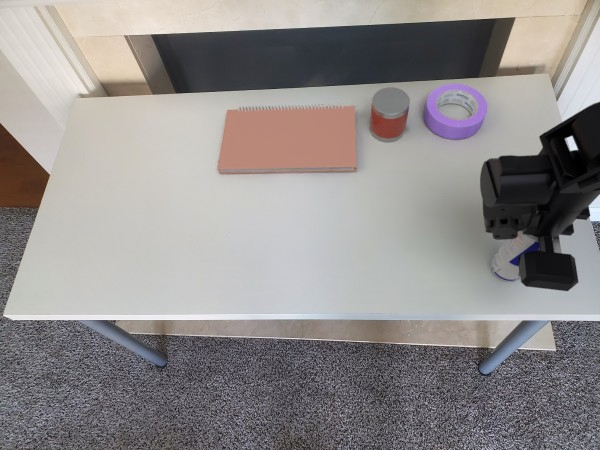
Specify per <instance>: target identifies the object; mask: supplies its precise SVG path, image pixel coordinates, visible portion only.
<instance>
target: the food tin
mask: <svg viewBox="0 0 600 450" xmlns="http://www.w3.org/2000/svg"><path fill="white" fill-rule="evenodd" d="M410 102H411V99H410V96H409V95H408V94H407V92H406V91H405V90H404V89H401V88H399V87H391V86H390V87H383V88H381V89H379V90H378V91H376V92H375V93H374V94H373V95H372V100H371V106H370V107H371V109H370V120H369V121H370V122H369V131H370V134H371V136H372V137H373V138H374V139H375V140H377V141H379V142H382V143H394V142H397V141H398V140H400V139H401V138H403V136H404V134H405V132H406V127H407V122H408V116H409V111H410V104H411V103H410Z"/></svg>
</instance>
